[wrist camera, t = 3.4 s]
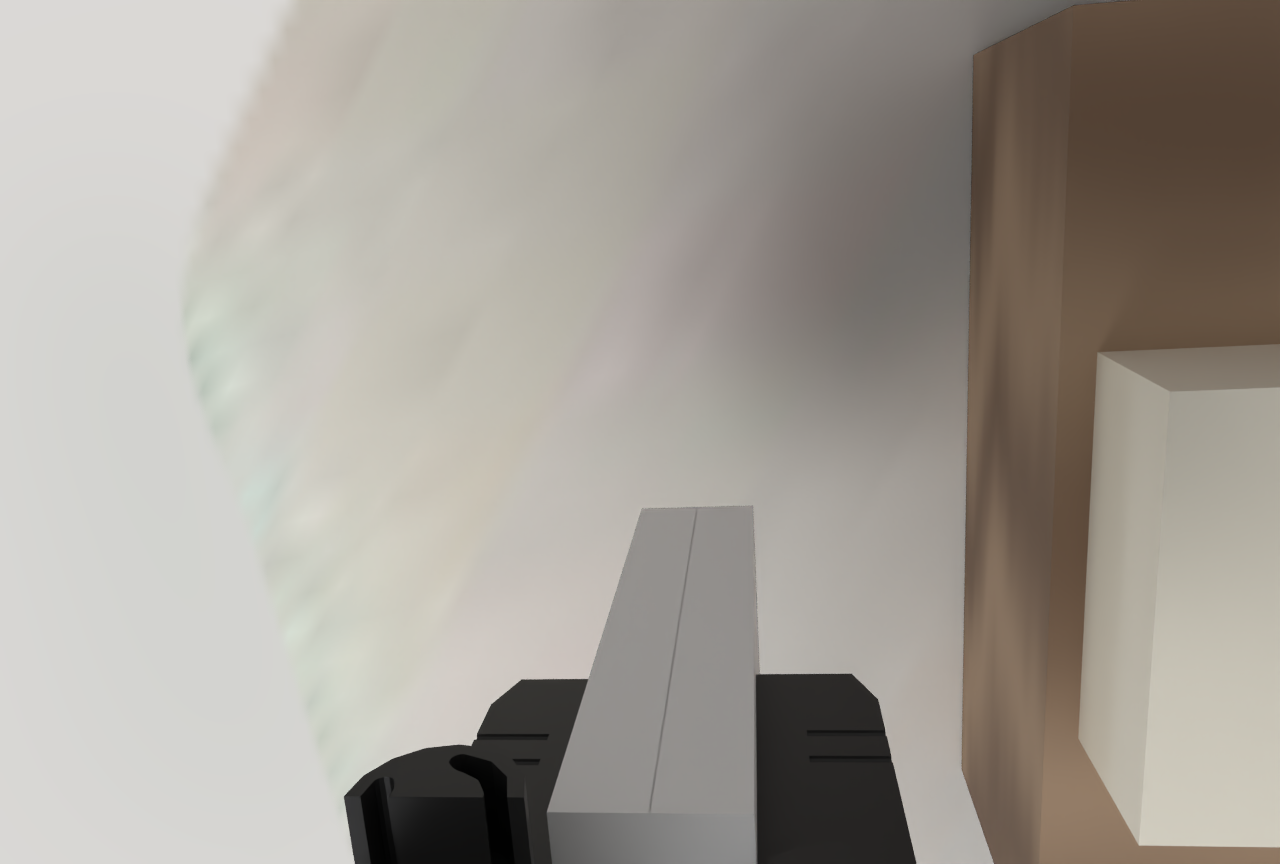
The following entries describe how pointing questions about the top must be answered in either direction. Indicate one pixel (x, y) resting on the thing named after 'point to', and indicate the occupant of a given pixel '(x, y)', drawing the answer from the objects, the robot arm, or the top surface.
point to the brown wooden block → (1093, 352)
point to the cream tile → (1186, 594)
